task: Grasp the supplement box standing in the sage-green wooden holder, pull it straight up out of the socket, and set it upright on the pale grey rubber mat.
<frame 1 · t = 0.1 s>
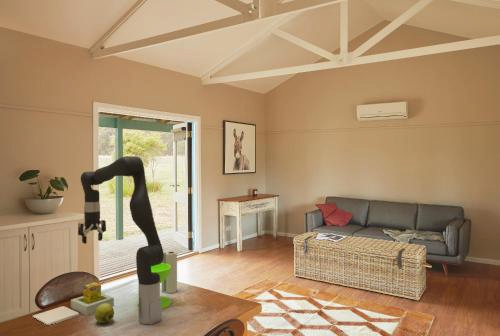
hand: (92, 241, 193), 29 cm above the table, fingers open, 8 cm apart
wineglass: (154, 304, 187), on the table
paper towel roll: (170, 291, 204), on the table
mat: (56, 316, 171), on the table
supplement box: (92, 307, 182), resting in holder
apple: (104, 322, 165), on the table
holder: (92, 307, 182), on the table
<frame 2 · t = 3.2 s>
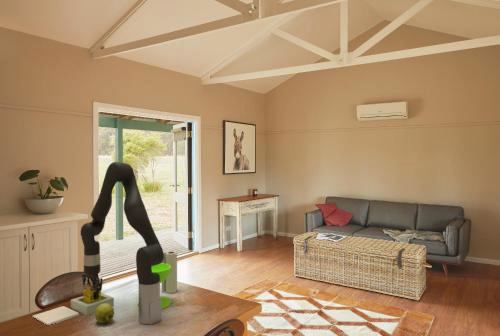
hand: (92, 297, 182), 5 cm above the table, fingers closed on supplement box, 6 cm apart
supplement box: (92, 307, 182), resting in holder, touching gripper
everything else where it was.
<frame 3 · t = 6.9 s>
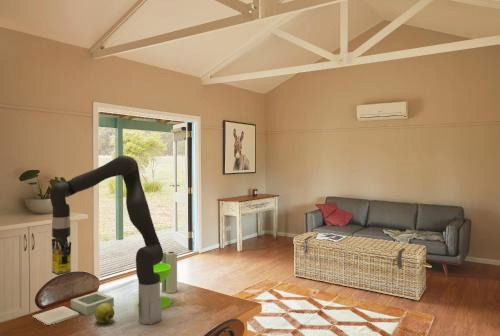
hand: (61, 262, 173), 24 cm above the table, fingers closed on supplement box, 6 cm apart
supplement box: (61, 273, 173), point 19 cm above the table, touching gripper
everything else where it was.
when the fingers open (6 cm above the table, at t = 11.0 s): supplement box stays where it is, resting on mat.
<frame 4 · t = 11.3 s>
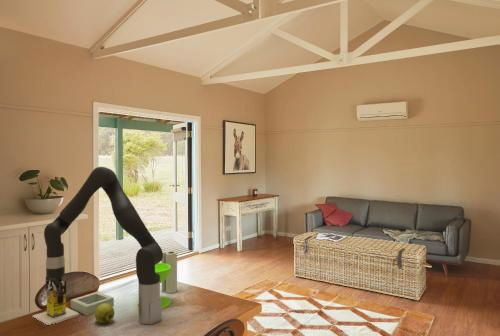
hand: (55, 301, 171), 7 cm above the table, fingers open, 8 cm apart
supplement box: (56, 314, 171), point 1 cm above the table, touching mat
everything else where it was.
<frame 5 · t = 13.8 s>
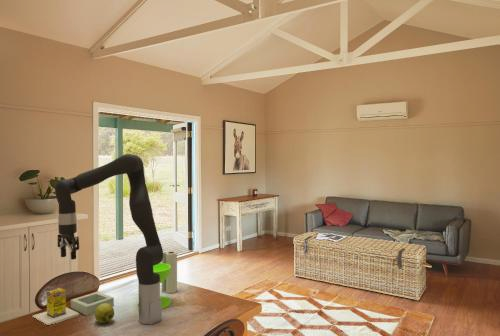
hand: (68, 258, 173), 26 cm above the table, fingers open, 8 cm apart
nothing on the table moved.
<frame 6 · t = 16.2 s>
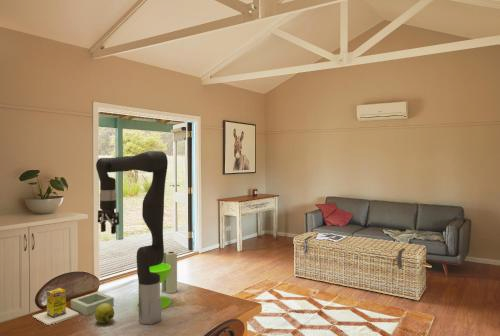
hand: (108, 232, 182), 36 cm above the table, fingers open, 8 cm apart
nothing on the table moved.
at the end: supplement box inside the target area on the mat (0.3 cm from its centre), point 0.8 cm above the mat's base; supplement box tilted 0°; the gripper is holding nothing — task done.
